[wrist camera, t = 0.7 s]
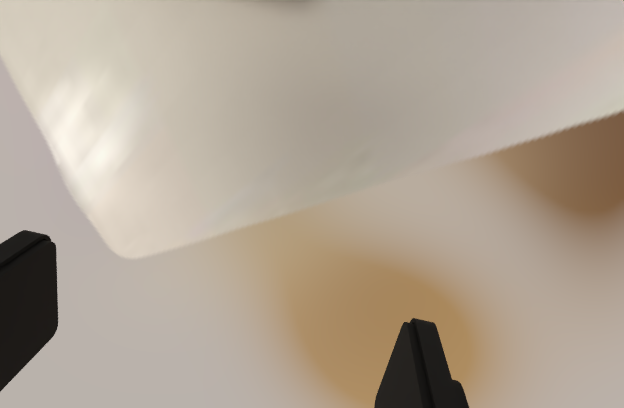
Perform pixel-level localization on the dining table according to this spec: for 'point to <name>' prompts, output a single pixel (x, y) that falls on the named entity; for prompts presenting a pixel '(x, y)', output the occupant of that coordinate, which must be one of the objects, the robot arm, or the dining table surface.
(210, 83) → the dining table surface
